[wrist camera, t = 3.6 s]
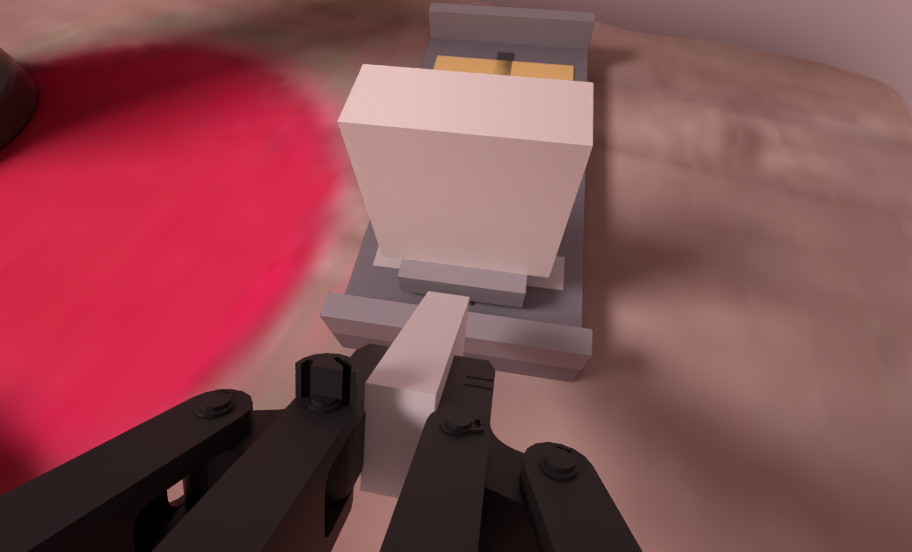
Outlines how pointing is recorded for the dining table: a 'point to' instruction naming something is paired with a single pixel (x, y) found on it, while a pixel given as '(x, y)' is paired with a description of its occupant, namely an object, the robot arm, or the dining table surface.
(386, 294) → the fader deck
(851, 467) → the dining table surface
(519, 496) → the robot arm
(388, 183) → the fader knob
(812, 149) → the dining table surface
